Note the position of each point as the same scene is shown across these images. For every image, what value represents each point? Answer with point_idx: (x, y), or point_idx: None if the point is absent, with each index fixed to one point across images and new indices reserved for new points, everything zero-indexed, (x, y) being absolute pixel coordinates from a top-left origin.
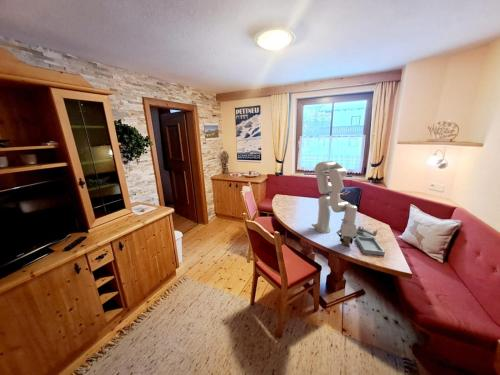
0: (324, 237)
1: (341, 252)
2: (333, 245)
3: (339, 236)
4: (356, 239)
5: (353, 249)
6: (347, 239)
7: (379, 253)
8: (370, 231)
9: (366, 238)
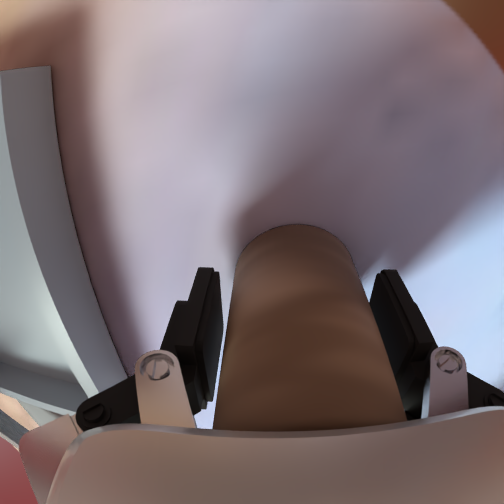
0: (483, 363)
1: (447, 17)
2: (493, 218)
3: (482, 382)
4: None
5: (189, 142)
6: (323, 333)
7: None
8: (15, 446)
9: (30, 387)
